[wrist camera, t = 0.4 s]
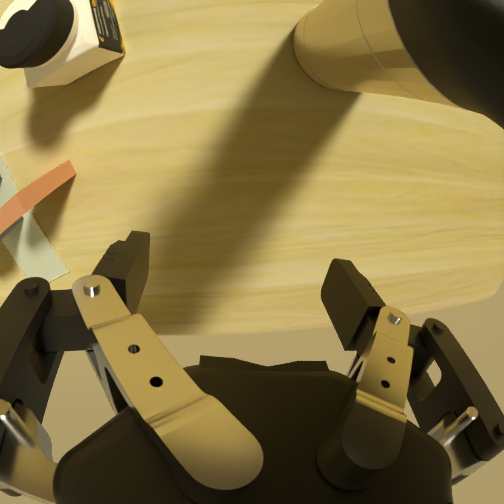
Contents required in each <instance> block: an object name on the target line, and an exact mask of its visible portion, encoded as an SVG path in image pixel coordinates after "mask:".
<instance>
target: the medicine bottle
mask: <svg viewBox="0 0 504 504" xmlns="http://www.w3.org/2000/svg"><path fill="white" fill-rule="evenodd" d="M125 53H126V51H125V48H124V44H123V41H122V37H121V33H120V29H119V25H118V21H117V17H116V13H115V9H114V5H113V1H112V0H15V1H14V2H13V3H12V4H11V5H10V6H9V7H8V8H7V10H6V11H5V12H4V14H3V15H2V17H1V19H0V65H1V66H2V67H5V68H10V69H11V68H24V72H25V77H26V81H27V85H28V87H30V88H35V87H44V86H55V85H67V84H69V83H71V82H73V81H74V80H76V79H78V78H80V77H81V76H83V75H85V74H87V73H89V72H91V71H93V70H95V69H96V68H98V67H100V66H102V65H104V64H107V63H109V62H111V61H113V60H115V59H117V58H119V57H122V56H124V55H125Z"/></svg>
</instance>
